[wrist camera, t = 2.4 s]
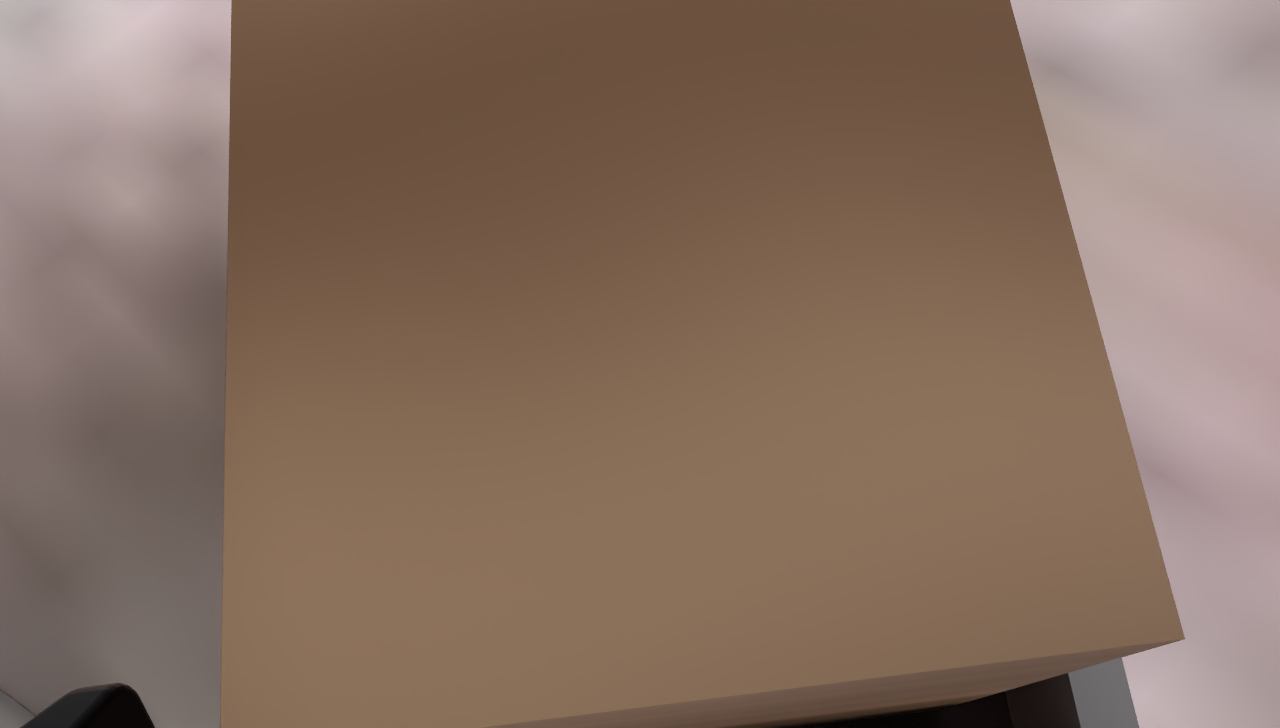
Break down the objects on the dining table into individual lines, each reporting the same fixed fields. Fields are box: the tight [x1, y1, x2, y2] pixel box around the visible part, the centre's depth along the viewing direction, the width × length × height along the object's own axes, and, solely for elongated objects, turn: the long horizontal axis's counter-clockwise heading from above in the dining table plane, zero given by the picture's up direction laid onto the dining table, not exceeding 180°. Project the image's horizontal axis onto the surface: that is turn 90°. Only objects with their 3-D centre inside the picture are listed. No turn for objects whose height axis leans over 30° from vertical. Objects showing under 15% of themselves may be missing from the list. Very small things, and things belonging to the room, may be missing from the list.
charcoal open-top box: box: [1005, 658, 1139, 728], centre depth 16 cm, size 8×8×4 cm
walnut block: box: [220, 0, 1185, 728], centre depth 12 cm, size 5×5×12 cm
